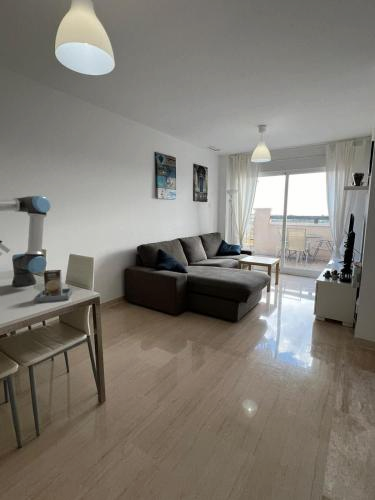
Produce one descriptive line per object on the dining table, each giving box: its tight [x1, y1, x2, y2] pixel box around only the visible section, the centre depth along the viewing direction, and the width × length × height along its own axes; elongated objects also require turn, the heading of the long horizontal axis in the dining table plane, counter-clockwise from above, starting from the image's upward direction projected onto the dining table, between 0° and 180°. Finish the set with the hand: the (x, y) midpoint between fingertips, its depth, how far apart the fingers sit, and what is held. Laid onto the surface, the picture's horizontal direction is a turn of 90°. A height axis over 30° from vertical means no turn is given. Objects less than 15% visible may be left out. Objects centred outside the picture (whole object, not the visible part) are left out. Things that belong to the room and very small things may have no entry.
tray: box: [33, 287, 73, 304], centre depth 159 cm, size 16×18×3 cm
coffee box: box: [43, 269, 63, 297], centre depth 158 cm, size 9×6×16 cm
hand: (5, 253), depth 152 cm, fingers open, 13 cm apart
